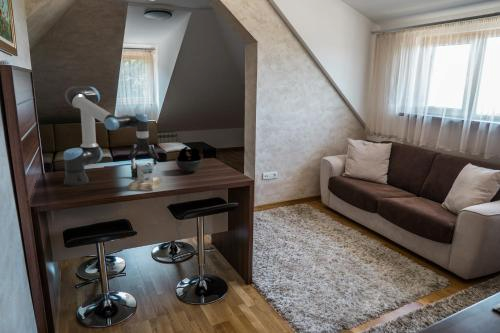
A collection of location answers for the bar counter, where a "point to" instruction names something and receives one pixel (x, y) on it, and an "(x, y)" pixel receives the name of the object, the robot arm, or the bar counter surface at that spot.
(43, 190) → the bar counter surface
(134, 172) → the camera
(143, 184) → the base
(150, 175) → the light bulb box
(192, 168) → the coal bowl
